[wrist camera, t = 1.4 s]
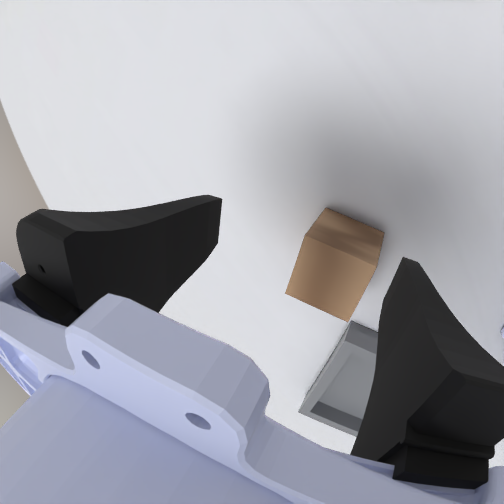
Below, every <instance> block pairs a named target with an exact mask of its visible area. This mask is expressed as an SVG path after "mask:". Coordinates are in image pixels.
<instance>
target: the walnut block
mask: <svg viewBox="0 0 504 504" xmlns="http://www.w3.org/2000/svg"><path fill="white" fill-rule="evenodd" d="M383 237H384V232H382V231H379V230H377V229H375V228H373V227H370V226H368V225H366V224H363V223H361V222H359V221H357V220H354V219H352V218H350V217H347V216H345V215H342V214H340V213H338V212H335V211H333V210H330V209H328V208H325V209H324V211H323V212H322V213H321V215H320V216H319V217H318V219H317V220H316V221H315V223H314V224H313V225H312V227H311V228H310V229H309V230H308V232H307V233H306V234H305V236H304V239H303V242H302V245H301V248H300V251H299V254H298V257H297V260H296V263H295V266H294V269H293V272H292V275H291V278H290V281H289V284H288V287H287V289H286V292H285V294H287V295H290V296H292V297H294V298H296V299H298V300H300V301H303V302H305V303H307V304H309V305H311V306H313V307H316V308H318V309H320V310H322V311H324V312H327V313H329V314H331V315H333V316H335V317H338V318H340V319H342V320H344V321H346V322H348V321H349V319H350V318H351V316H352V314H353V312H354V310H355V308H356V306H357V305H358V303H359V301H360V299H361V297H362V295H363V293H364V291H365V289H366V287H367V285H368V283H369V282H370V280H371V278H372V276H373V274H374V272H375V270H376V267H377V264H378V260H379V255H380V251H381V246H382V241H383Z"/></svg>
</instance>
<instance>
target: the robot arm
mask: <svg viewBox="0 0 504 504" xmlns="http://www.w3.org/2000/svg"><path fill="white" fill-rule="evenodd" d="M221 206H222V199H221V198H218V197H214V196H211V195H201V196H195V197H190V198H185V199H181V200H176V201H172V202H168V203H163V204H158V205H153V206H148V207H142V208H136V209H129V210H120V211H105V212H68V211H57V210H47V209H39V210H37V211H35V212H33V213H31V214H30V215H28V216H26V217H24V218H23V219H21V220H20V221H19V223H18V225H17V230H16V236H17V242H18V247H19V251H20V254H21V258H22V261H23V264H24V268H25V271H26V274H25V275H23V276H22V277H21V278H20V276H19V275H18V273H17V272H16V271H15V270H14V269H13V268H12V267H10V266H9V265H8V264H7V263H5V262H3V261H2V262H1V263H0V363H1V365H2V366H3V367H4V368H5V369H6V370H7V371H8V373H9V374H10V375H11V376H12V377H13V378H14V379H15V380H16V382H17V383H18V384H19V385H20V386H21V387H22V388H23V389H24V390H25V391H26V392H27V393H28V394H29V396H30V397H29V399H28V400H27V401H26V402H25V403H24V404H23V405H22V406H21V407H20V408H19V409H18V410H17V411H16V412H15V413H14V414H13V415H12V417H11V418H10V419H9V420H8V421H7V422H6V423H5V424H4V425H3V426H2V427H1V428H0V504H504V466H495V467H492V468H489V459H491V458H493V457H494V455H495V449H494V445H496V444H497V443H498V442H499V441H501V440H502V439H503V438H504V366H502V365H501V364H500V363H499V362H498V361H497V360H496V359H494V358H493V357H492V356H491V355H490V354H489V353H488V352H487V351H486V350H484V349H483V348H482V347H481V346H480V344H479V343H478V342H477V341H476V340H475V339H474V338H473V337H472V336H471V335H470V334H469V333H468V332H467V331H466V329H465V328H464V327H463V326H462V325H461V323H460V322H459V321H458V320H457V319H456V317H455V316H454V315H453V313H452V312H451V311H450V309H449V308H448V306H447V305H446V303H445V302H444V301H443V299H442V298H441V296H440V295H439V293H438V292H437V290H436V289H435V287H434V285H433V284H432V282H431V281H430V279H429V278H428V276H427V274H426V273H425V271H424V270H423V268H422V267H421V266H420V264H419V263H418V262H416V261H413V260H410V259H408V258H405V257H403V258H402V260H401V263H400V265H399V267H398V269H397V272H396V274H395V276H394V278H393V280H392V283H391V285H390V287H389V289H388V291H387V293H386V295H385V297H384V299H383V304H382V309H381V314H380V320H379V330H378V342H377V354H376V365H375V373H374V379H373V383H372V387H371V391H370V395H369V399H368V403H367V406H366V410H365V413H364V417H363V420H362V423H361V426H360V429H359V432H358V435H357V438H356V441H355V443H354V446H353V449H352V451H351V454H350V455H349V454H345V453H341V452H338V451H334V450H331V449H328V448H324V447H322V446H320V445H318V444H316V443H314V442H312V441H310V440H308V439H306V438H305V437H303V436H301V435H299V434H297V433H295V432H294V431H292V430H290V429H288V428H286V427H285V426H283V425H281V424H279V423H278V422H276V421H274V420H273V419H271V418H269V417H267V416H266V415H265V409H266V406H267V403H268V401H269V398H270V390H269V382H268V378H267V377H266V376H265V374H264V373H263V372H262V371H261V370H260V368H259V367H258V366H257V365H256V364H255V362H254V361H253V360H252V359H251V358H250V357H248V356H247V355H245V354H243V353H242V352H240V351H238V350H237V349H235V348H234V347H232V346H230V345H229V344H227V343H224V342H222V341H219V340H217V339H215V338H212V337H210V336H208V335H205V334H203V333H201V332H199V331H196V330H194V329H192V328H190V327H187V326H185V325H183V324H181V323H179V322H176V321H174V320H172V319H170V318H168V317H166V316H164V315H162V314H159V311H160V310H161V309H162V307H163V306H164V305H165V303H166V302H167V301H168V300H169V298H170V297H171V296H172V295H173V294H174V293H175V292H176V291H177V290H178V289H179V288H180V287H181V286H182V285H183V283H184V282H185V281H186V280H187V279H188V278H189V277H190V276H191V275H192V274H193V273H194V272H195V271H196V270H197V269H198V268H199V267H200V266H201V265H202V264H203V263H204V262H205V261H206V259H207V258H208V257H209V255H210V254H211V252H212V251H213V249H214V248H215V246H216V245H217V244H218V236H219V226H220V216H221ZM501 335H502V337H503V338H504V328H503V329H502V330H501Z"/></svg>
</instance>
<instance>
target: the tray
mask: <svg viewBox="0 0 504 504" xmlns="http://www.w3.org/2000/svg"><path fill="white" fill-rule="evenodd" d="M377 342H378V333H377V332H375V331H373V330H371V329H368V328H366V327H364V326H362V325H360V324H357V323H355V322H353V321H351V322H350V324H349V326H348V327H347V329H346V331H345V333H344V334H343V336H342V338H341V340H340V341H339V343H338V345H337V346H336V348H335V350H334V351H333V353H332V355H331V356H330V358H329V360H328V361H327V363H326V365H325V366H324V368H323V369H322V371H321V373H320V374H319V376H318V377H317V379H316V381H315V382H314V384H313V385H312V387H311V388H310V390H309V391H308V393H307V394H306V396H305V398H304V401H303V403H302V405H301V407H300V409H299V411H298V412H299V413H301V414H303V415H306V416H308V417H310V418H312V419H315V420H317V421H319V422H322V423H324V424H326V425H329V426H331V427H334V428H336V429H338V430H341V431H343V432H346V433H348V434H351V435H353V436H356V437H357V435H358V432H359V429H360V426H361V423H362V420H363V417H364V413H365V410H366V406H367V403H368V399H369V395H370V391H371V387H372V383H373V379H374V373H375V365H376V354H377Z"/></svg>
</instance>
